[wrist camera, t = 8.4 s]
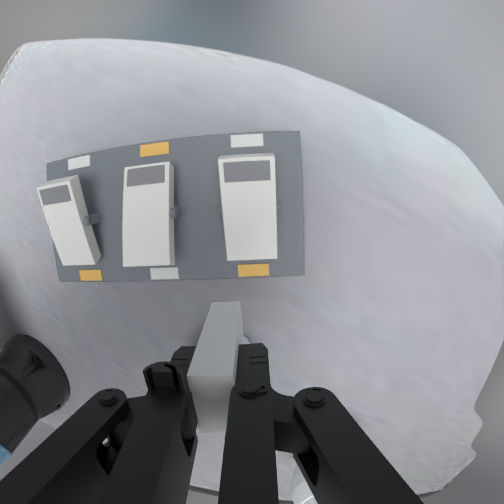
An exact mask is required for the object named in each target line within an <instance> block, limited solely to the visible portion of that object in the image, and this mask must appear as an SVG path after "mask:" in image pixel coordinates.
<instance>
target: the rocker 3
mask: <svg viewBox="0 0 504 504" xmlns="http://www.w3.org/2000/svg"><path fill="white" fill-rule="evenodd" d="M218 166H219V178H220V190H221V201H222V204H220V205H218V214H219V215H223V222H224V232H225V243H226V252H227V261H236V260H259V259H277V216H276V212H281V203H280V202H276V179H275V156H274V153H259V154H240V155H224V156H220V157H219V158H218Z"/></svg>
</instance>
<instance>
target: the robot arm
mask: <svg viewBox="0 0 504 504" xmlns="http://www.w3.org/2000/svg"><path fill="white" fill-rule="evenodd" d="M143 374H144V377H145V381H146V384H147V388H148V392H147V394H146V396H141V397H135V398H127V397H126V395H125V393H124V392H123V391H121V390H119V389H114V388H111V389H105V390H102V391H99V392H98V393H96V394H95V395H94V396H93V397H92V398H90V399H89V400H88V401H87V402H86V403H85V404H84V405H83V406H82V407H81V408H79V409H78V410H77V411H76V412H75V413H74V414H73V415H72V416H71V417H70V418H69V419H67V420H66V421H65V422H64V423H63V424H62V425H61V426H60V427H59V428H58V429H56V430H55V431H54V432H53V433H52V434H51V435H50V436H49V437H48V438H47V439H46V440H44V441H43V442H42V443H41V444H40V445H39V446H38V447H37V448H36V449H35V450H34V451H32V452H31V453H30V454H29V455H28V456H27V457H26V458H25V459H24V460H23V461H22V462H20V464H18V465H17V466H16V467H15V468H14V469H13V470H12V471H11V472H9V473H8V474H7V475H6V476H5V477H4V478H3V479H2V480H1V481H0V504H186V499H187V494H188V489H189V484H190V479H191V474H192V468H193V463H194V458H195V453H196V448H197V443H198V440H197V435H196V428H197V423H198V427H199V431H200V432H220V433H226V435H225V444H224V453H223V462H222V471H221V480H220V489H219V499H218V504H279V500H278V484H277V469H276V454H275V450H278V451H283V452H290V453H293V457H294V459H295V461H296V463H297V465H298V467H299V469H300V471H301V473H302V474H303V476H304V478H305V480H306V482H307V484H308V486H309V488H310V490H311V492H312V494H313V496H314V498H315V500H316V502H317V503H318V504H423V502H422V501H421V500H420V498H419V497H418V496H417V495H416V494H415V493H414V491H413V490H412V489H411V488H410V487H409V485H408V484H407V483H406V482H405V481H404V480H403V478H402V477H401V476H400V475H399V474H398V472H397V471H396V470H395V469H394V468H393V466H392V465H391V464H390V463H389V462H388V460H387V459H386V458H385V457H384V456H383V454H382V453H381V452H380V451H379V449H378V448H377V447H376V446H375V445H374V443H373V442H372V441H371V440H370V438H369V437H368V436H367V435H366V434H365V432H364V431H363V430H362V429H361V427H360V426H359V425H358V424H357V422H356V421H355V420H354V419H353V417H352V416H351V415H350V414H349V412H348V411H347V410H346V409H345V407H344V406H343V405H342V404H341V402H340V401H339V400H338V399H337V397H336V396H335V395H334V394H333V393H332V392H331V391H329V390H327V389H324V388H320V387H311V388H306V389H303V390H301V391H299V392H298V393H297V394H296V395H295V397H292V396H286V395H282V394H279V393H277V392H276V391H274V390H273V389H272V387H271V385H270V375H269V362H268V349H267V348H266V347H265V346H264V345H263V344H262V343H257V344H245V343H244V331H243V320H242V308H241V301H226V302H212V303H211V306H210V309H209V312H208V315H207V318H206V320H205V323H204V326H203V329H202V332H201V335H200V338H199V341H198V344H197V346H181V347H180V348H179V349H178V350H177V351H175V352H174V354H173V356H172V359H171V361H170V362H167V361H165V362H157V363H153V364H151V365H149V366H147V367H146V368H145V369H144V370H143ZM69 393H70V389H69V384H68V380H67V378H66V375H65V373H64V371H63V369H62V367H61V366H60V364H59V363H58V361H57V360H56V359H55V357H54V356H53V355H52V354H51V353H50V352H49V351H48V350H47V349H46V348H45V347H44V346H43V345H42V344H41V343H39V342H38V341H36V340H35V339H33V338H31V337H29V336H26V335H16V336H14V337H13V338H12V339H10V340H9V341H8V342H7V343H6V344H5V345H4V347H3V349H2V351H1V353H0V467H1V466H2V465H3V464H4V463H5V462H6V461H7V460H8V459H9V458H10V457H11V456H12V453H13V452H14V451H15V449H16V448H17V446H18V445H19V444H20V443H21V441H22V440H23V439H24V438H25V436H26V435H27V434H28V432H29V431H30V430H31V429H32V427H33V426H34V425H35V423H36V422H37V421H38V420H39V419H41V418H43V417H45V416H47V415H49V414H51V413H53V412H54V411H57V410H58V409H60V408H61V407H62V406H63V405H64V404H65V402H66V401H67V400H68V398H69ZM106 438H107V439H108V442H107V443H106V444H104V445H103V443H102V442H103V441H104V440H105V439H106Z"/></svg>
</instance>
